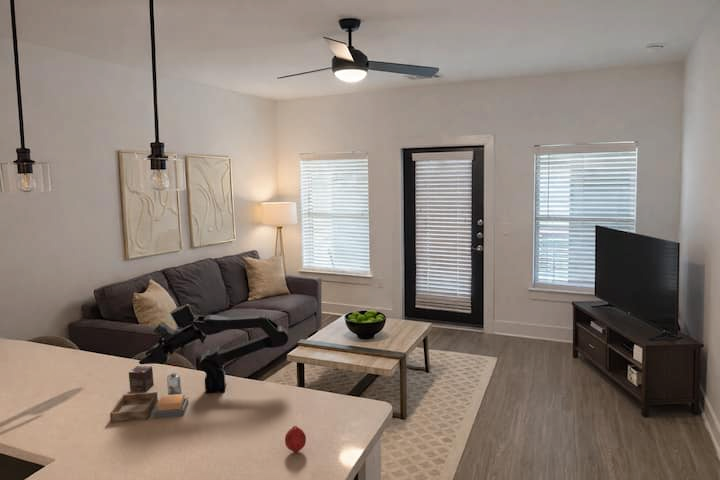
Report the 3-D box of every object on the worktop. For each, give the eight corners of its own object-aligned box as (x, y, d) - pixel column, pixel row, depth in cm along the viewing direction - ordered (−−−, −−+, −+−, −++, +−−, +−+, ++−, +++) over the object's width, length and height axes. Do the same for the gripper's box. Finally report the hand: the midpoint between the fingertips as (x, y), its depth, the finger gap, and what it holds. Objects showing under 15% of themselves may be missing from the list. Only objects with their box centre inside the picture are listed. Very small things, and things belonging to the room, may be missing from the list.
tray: (157, 400, 176) (157, 392, 176) (147, 419, 162) (146, 410, 162) (124, 402, 174) (123, 394, 174) (110, 422, 161) (109, 413, 160)
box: (154, 385, 189) (152, 366, 188) (145, 392, 183) (144, 372, 182) (138, 384, 189) (137, 365, 188) (129, 391, 183) (128, 372, 182)
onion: (286, 447, 145) (285, 420, 144) (306, 445, 145) (305, 419, 144) (284, 458, 139) (283, 430, 138) (306, 457, 140) (305, 429, 139)
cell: (182, 391, 183) (181, 371, 182) (180, 397, 178) (178, 376, 177) (169, 392, 182) (168, 372, 181) (167, 398, 178) (165, 377, 177)
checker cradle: (188, 403, 173) (188, 397, 173) (183, 415, 164) (183, 409, 164) (160, 405, 172) (160, 400, 172) (154, 418, 163) (154, 412, 163)
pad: (184, 399, 172) (184, 393, 172) (180, 408, 165) (180, 402, 165) (162, 401, 171) (162, 395, 171) (158, 410, 164) (157, 404, 164)
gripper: (177, 311, 188) (137, 331, 186) (167, 324, 169) (123, 346, 167) (192, 337, 189) (153, 357, 188) (184, 353, 171) (140, 375, 169)
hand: (142, 358), depth 178 cm, fingers open, 9 cm apart
